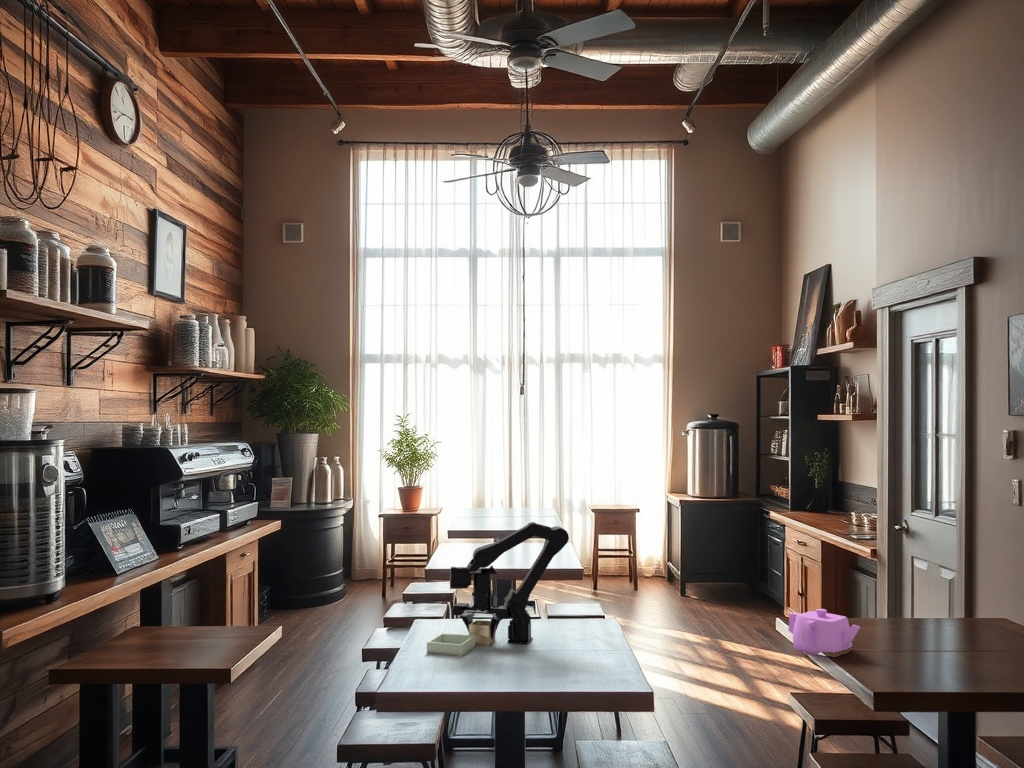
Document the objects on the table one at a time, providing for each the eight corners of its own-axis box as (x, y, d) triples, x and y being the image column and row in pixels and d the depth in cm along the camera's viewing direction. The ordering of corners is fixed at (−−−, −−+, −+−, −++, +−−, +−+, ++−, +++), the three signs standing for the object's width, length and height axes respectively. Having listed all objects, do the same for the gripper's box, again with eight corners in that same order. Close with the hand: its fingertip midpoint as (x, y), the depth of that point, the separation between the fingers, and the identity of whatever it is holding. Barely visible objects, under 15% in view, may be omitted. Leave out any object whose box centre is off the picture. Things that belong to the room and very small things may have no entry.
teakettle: (785, 643, 255) (785, 603, 256) (841, 643, 254) (840, 603, 255) (803, 658, 238) (802, 615, 239) (862, 659, 237) (861, 616, 238)
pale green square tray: (475, 646, 252) (475, 635, 252) (461, 656, 241) (461, 645, 242) (441, 643, 255) (441, 633, 256) (426, 652, 245) (427, 642, 245)
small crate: (495, 640, 259) (495, 621, 259) (488, 645, 253) (488, 626, 253) (476, 638, 261) (476, 619, 261) (468, 644, 255) (468, 624, 255)
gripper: (518, 585, 263) (518, 634, 262) (464, 582, 269) (464, 630, 268) (507, 591, 252) (507, 643, 251) (451, 588, 258) (451, 638, 257)
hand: (482, 638), depth 257 cm, fingers closed on small crate, 6 cm apart
